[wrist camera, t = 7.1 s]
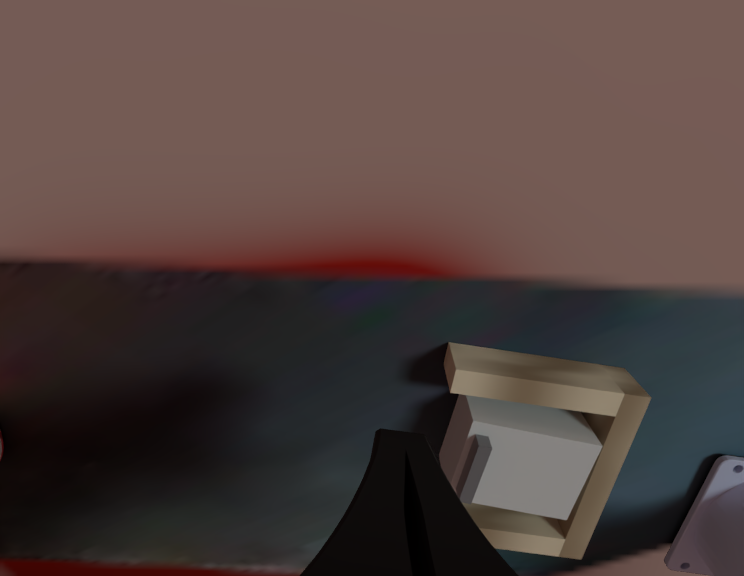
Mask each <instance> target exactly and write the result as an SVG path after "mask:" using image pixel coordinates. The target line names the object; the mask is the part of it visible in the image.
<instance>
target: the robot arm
mask: <svg viewBox="0 0 744 576" xmlns="http://www.w3.org/2000/svg"><path fill="white" fill-rule="evenodd" d="M735 466H736V467H735ZM664 562H665V564H666V566H667V567H668V568H669V569H670V570H674V571H681V572H689V573H696V574H704V575H711V576H744V458H743V457H736V456H729V455H725V456H721V457H719V458H717V460H716V461H715V462H714V464H713V466H712V468H711V470H710V472H709V474H708V476H707V478H706V480H705V482H704V484H703V485H702V487H701V489H700V491H699V493H698V495H697V497H696V499H695V501H694V503H693V505H692V507H691V509H690V510H689V512H688V514H687V516H686V518H685V520H684V522H683V524H682V526H681V528H680V530H679V532H678V534H677V535H676V537H675V539H674V541H673V543H672V545H671V547H670V549H669V551H668V553H667V555H666V557H665V559H664ZM300 576H518V575H517V574H516V573H515V571H514V570H513V569H512V568H511V567H510V566H509V565H508V564H507V563H506V562H505V560H504V559H503V558H502V557H501V556H500V555H499V553H498V552H497V551H496V550H495V548H494V547H493V546H492V545H491V543H490V542H489V541H488V540H487V538H486V537H485V536H484V534H483V533H482V532H481V530H480V529H479V527H478V526H477V525H476V523H475V522H474V520H473V519H472V517H471V516H470V514H469V513H468V511H467V510H466V508H465V507H464V505H463V504H462V502H461V501H460V499H459V497H458V496H457V494H456V492H455V491H454V489H453V487H452V486H451V484H450V482H449V481H448V479H447V477H446V475H445V473H444V472H443V470H442V468H441V466H440V464H439V462H438V460H437V458H436V456H435V454H434V452H433V450H432V448H431V446H430V444H429V442H428V440H427V438H426V437H425V435H423V434H416V433H409V432H402V431H395V430H387V429H379V430H377V431H376V432H375V438H374V443H373V448H372V453H371V459H370V462H369V465H368V467H367V470H366V472H365V474H364V477H363V479H362V482H361V484H360V486H359V488H358V490H357V492H356V494H355V496H354V498H353V500H352V502H351V503H350V505H349V507H348V509H347V510H346V512H345V514H344V516H343V517H342V519H341V520H340V522H339V524H338V525H337V527H336V528H335V530H334V531H333V533H332V534H331V536H330V537H329V539H328V540H327V542H326V543H325V544H324V546H323V547H322V549H321V550H320V551H319V553H318V554H317V555H316V557H315V558H314V559H313V560H312V562H311V563H310V564H309V565H308V566H307V568H306V569H305V570H304V571H303V572H302V574H301V575H300Z"/></svg>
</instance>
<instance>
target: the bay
mask: <svg viewBox="0 0 744 576" xmlns="http://www.w3.org/2000/svg"><path fill="white" fill-rule="evenodd" d="M444 368H445V372H446V377H447V381H448V385H449V390H450V393H456V394H462V395H469V396H476V397H483V398H490V399H497V400H504V401H511V402H518V403H525V404H532V405H539V406H546V407H553V408H560V409H566V410H573V411H580V412H582V415H583V417H584V418H585V420H586V421H587V423H588V424H589V426H590V427H591V429H592V431H593V432H594V434H595V435H596V437H597V438H598V440H599V441H600V443H601V444H602V446H603V447H602V449H601V451H600V453H599V455H598V457H597V459H596V461H595V463H594V465H593V467H592V469H591V471H590V473H589V475H588V477H587V480H586V482H585V484H584V486H583V488H582V490H581V492H580V494H579V496H578V498H577V500H576V502H575V504H574V506H573V508H572V510H571V512H570V514H569V517H568V519H567V520H562V519H557V518H551V517H546V516H541V515H535V514H530V513H524V512H519V511H514V510H508V509H503V508H498V507H492V506H487V505H481V504H476V503H471V504H467V503H462V504H463V505H464V507H465V508H466V510H467V511H468V513H469V514H470V516H471V517H472V519H473V520H474V522H475V523H476V525H477V526H478V527H479V529H480V530H481V532H482V533H483V534H484V536H485V537H486V538H487V540H488V541H489V542H490V543H491V545H492V546H493V547H494V548H497V549H505V550H512V551H520V552H527V553H535V554H542V555H550V556H557V557H565V558H572V559H580V560H581V559H582V557H583V555H584V552H585V550H586V548H587V545H588V543H589V541H590V538H591V536H592V534H593V532H594V529H595V527H596V525H597V522H598V520H599V518H600V515H601V513H602V511H603V508H604V506H605V504H606V501H607V499H608V497H609V495H610V492H611V490H612V488H613V485H614V483H615V481H616V478H617V476H618V474H619V471H620V469H621V467H622V465H623V462H624V460H625V458H626V455H627V453H628V451H629V448H630V446H631V444H632V441H633V439H634V437H635V435H636V432H637V430H638V428H639V425H640V423H641V421H642V418H643V416H644V414H645V411H646V409H647V407H648V405H649V402H650V400H651V397H650V396H649V395H648V394H647V392H646V391H645V390H644V389H643V388H642V387H641V386H640V385H639V384H638V383H637V382H636V380H635V379H634V378H633V377H632V376H631V375H630V374H629V373H628V372H627V371H626V370H625V368H619V367H613V366H606V365H599V364H592V363H586V362H579V361H572V360H565V359H558V358H552V357H545V356H538V355H531V354H525V353H518V352H511V351H504V350H498V349H491V348H484V347H477V346H471V345H464V344H457V343H450V342H449V343H448V347H447V351H446V355H445V360H444Z"/></svg>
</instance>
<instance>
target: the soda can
mask: <svg viewBox="0 0 744 576" xmlns="http://www.w3.org/2000/svg"><path fill="white" fill-rule="evenodd" d="M3 449H4V447H3V438H2V434H1V431H0V461H1V458H2V455H3Z"/></svg>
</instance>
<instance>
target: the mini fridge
mask: <svg viewBox="0 0 744 576" xmlns="http://www.w3.org/2000/svg"><path fill="white" fill-rule="evenodd" d="M602 447H603V446H602V444H601V443H600V441H599V440H598V438H597V437H596V435H595V434H594V432H593V431H592V429H591V427H590V426H589V424H588V423H587V421H586V420H585V418H584V417H583V415H582V413H581V412H580V411H573V410H566V409H560V408H553V407H546V406H539V405H532V404H525V403H518V402H511V401H504V400H497V399H490V398H483V397H476V396H469V395H462V394H459V396H458V399H457V402H456V405H455V408H454V411H453V414H452V417H451V420H450V423H449V426H448V429H447V432H446V435H445V438H444V441H443V444H442V447H441V450H440V453H439V458H440V465H441V468H442V470H443V472H444V473H445V475H446V477H447V479H448V481H449V482H450V484H451V486H452V487H453V489H454V491H455V492H456V494H457V496H458V497H459V499H460V501H461V502H462V503H467V504H471V503H476V504H481V505H487V506H492V507H498V508H503V509H508V510H514V511H519V512H524V513H530V514H535V515H541V516H546V517H551V518H557V519H562V520H567V519H568V517H569V514H570V512H571V510H572V508H573V506H574V504H575V502H576V500H577V498H578V496H579V494H580V492H581V490H582V488H583V486H584V484H585V482H586V480H587V477H588V475H589V473H590V471H591V469H592V467H593V465H594V463H595V461H596V459H597V457H598V455H599V453H600V451H601V449H602Z"/></svg>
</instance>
